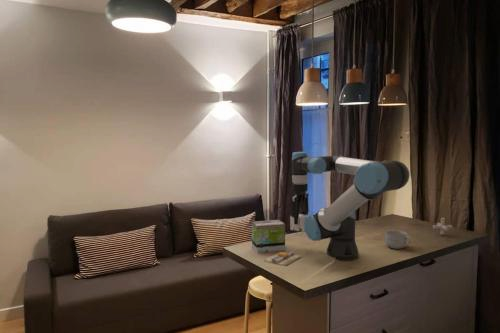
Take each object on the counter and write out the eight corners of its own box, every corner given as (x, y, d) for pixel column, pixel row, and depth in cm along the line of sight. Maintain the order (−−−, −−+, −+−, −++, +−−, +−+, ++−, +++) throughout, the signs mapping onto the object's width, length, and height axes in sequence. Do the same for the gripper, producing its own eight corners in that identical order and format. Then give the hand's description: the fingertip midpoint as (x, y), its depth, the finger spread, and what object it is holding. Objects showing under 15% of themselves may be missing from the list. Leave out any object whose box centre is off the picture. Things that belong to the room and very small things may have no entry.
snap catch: (288, 255, 182) (288, 253, 182) (284, 257, 180) (284, 255, 180) (281, 254, 185) (281, 251, 184) (277, 255, 182) (277, 253, 182)
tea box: (257, 255, 191) (256, 225, 190) (251, 249, 201) (251, 221, 200) (285, 252, 195) (285, 223, 194) (279, 246, 205) (278, 218, 204)
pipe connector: (446, 232, 223) (447, 215, 222) (455, 237, 214) (456, 220, 212) (429, 233, 224) (429, 216, 223) (437, 238, 214) (437, 220, 213)
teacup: (380, 245, 203) (380, 230, 202) (397, 243, 206) (397, 228, 206) (398, 253, 190) (399, 237, 189) (416, 250, 193) (417, 235, 193)
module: (310, 229, 194) (310, 215, 194) (304, 232, 189) (304, 218, 189) (296, 227, 199) (296, 213, 198) (290, 229, 194) (290, 216, 194)
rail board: (301, 259, 185) (301, 253, 184) (286, 268, 173) (286, 262, 173) (280, 254, 192) (280, 249, 191) (264, 262, 180) (264, 257, 180)
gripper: (302, 180, 202) (302, 223, 204) (283, 185, 187) (284, 232, 189) (315, 181, 197) (315, 225, 200) (297, 186, 182) (297, 234, 184)
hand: (300, 228), depth 194 cm, fingers closed on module, 6 cm apart
